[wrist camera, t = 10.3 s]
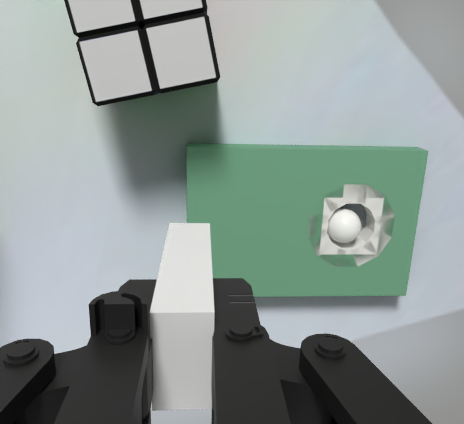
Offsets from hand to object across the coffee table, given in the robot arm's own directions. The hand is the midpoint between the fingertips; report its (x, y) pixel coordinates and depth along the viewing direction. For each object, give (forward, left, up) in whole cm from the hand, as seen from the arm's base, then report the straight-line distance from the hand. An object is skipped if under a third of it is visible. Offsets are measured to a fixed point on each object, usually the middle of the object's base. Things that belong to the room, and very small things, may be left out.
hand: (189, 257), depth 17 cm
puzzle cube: (-4, +10, -30) cm, 32 cm away
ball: (+15, -8, -28) cm, 33 cm away
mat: (+11, -8, -29) cm, 32 cm away
